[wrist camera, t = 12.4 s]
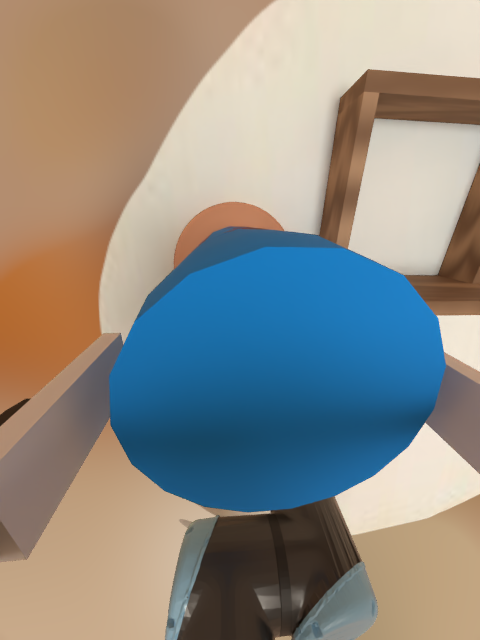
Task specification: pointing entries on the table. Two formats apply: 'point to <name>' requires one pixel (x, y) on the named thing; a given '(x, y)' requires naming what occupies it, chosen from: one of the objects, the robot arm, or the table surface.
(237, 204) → the terracotta disc
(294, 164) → the table surface
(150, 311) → the thermos
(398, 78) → the frame
